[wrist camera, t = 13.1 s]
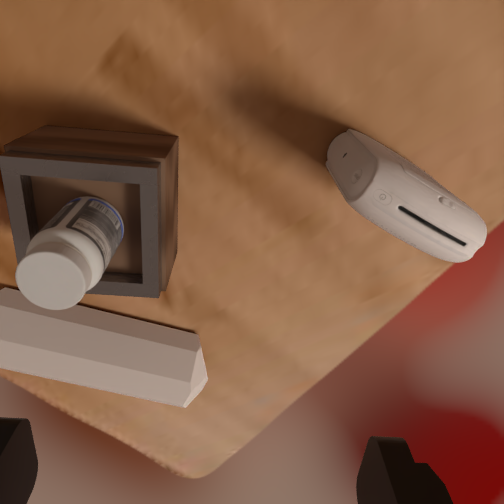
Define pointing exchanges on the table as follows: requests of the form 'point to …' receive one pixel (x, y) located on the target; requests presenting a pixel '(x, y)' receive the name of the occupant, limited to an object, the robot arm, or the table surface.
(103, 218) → the pill bottle
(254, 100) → the table surface
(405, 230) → the photo printer
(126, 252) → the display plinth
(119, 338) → the crystal
